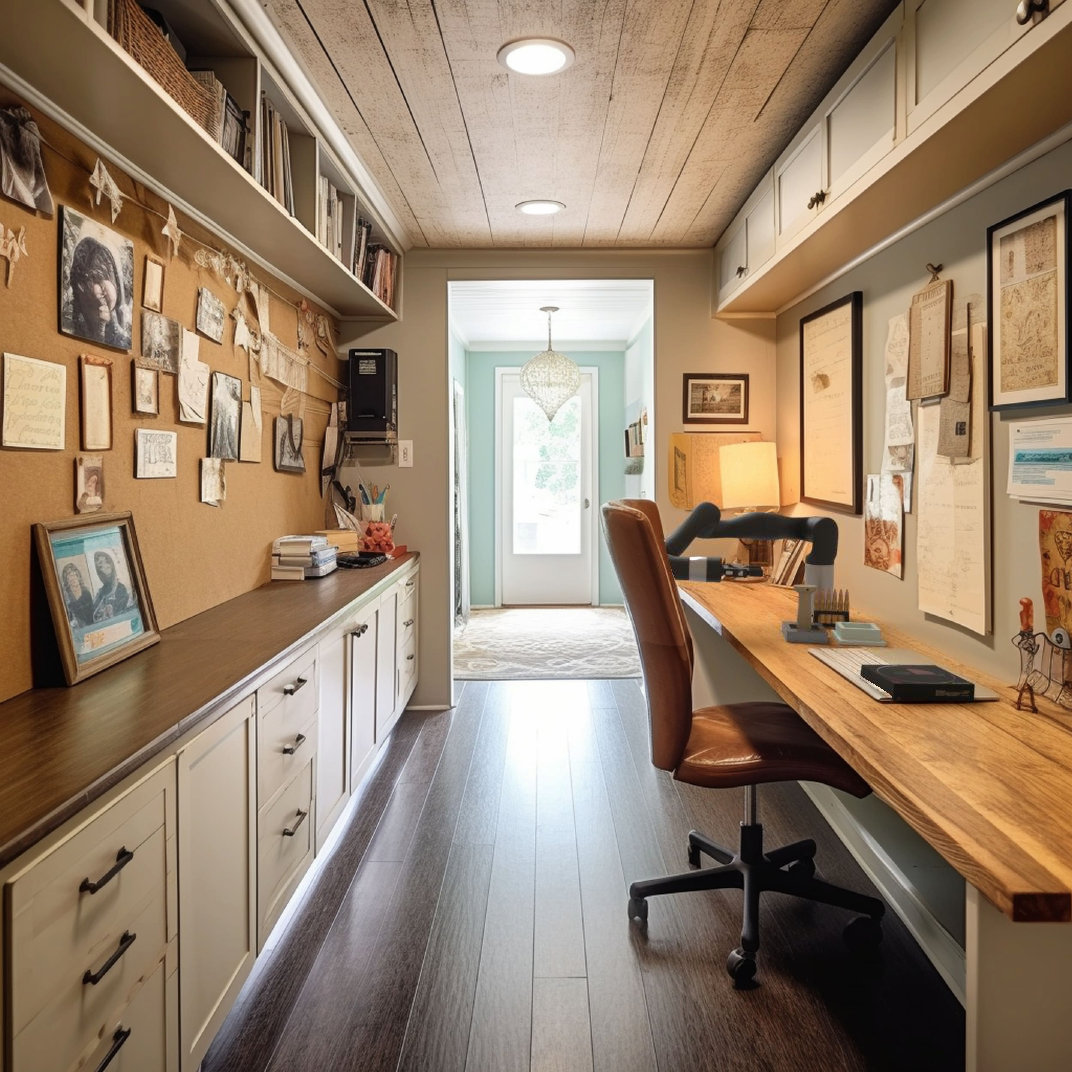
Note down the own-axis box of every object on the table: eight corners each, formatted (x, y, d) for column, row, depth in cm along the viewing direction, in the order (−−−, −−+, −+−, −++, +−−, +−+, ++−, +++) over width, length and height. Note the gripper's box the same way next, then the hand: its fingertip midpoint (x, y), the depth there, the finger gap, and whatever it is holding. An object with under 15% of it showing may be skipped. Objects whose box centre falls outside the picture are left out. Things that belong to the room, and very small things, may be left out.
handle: (790, 635, 223) (791, 584, 222) (812, 635, 222) (813, 584, 221) (795, 638, 218) (796, 586, 217) (817, 639, 218) (819, 587, 216)
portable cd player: (932, 681, 173) (933, 664, 173) (973, 703, 156) (974, 684, 156) (859, 681, 173) (860, 663, 173) (893, 702, 156) (893, 683, 156)
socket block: (781, 631, 229) (781, 621, 229) (820, 632, 227) (820, 622, 226) (786, 641, 214) (786, 631, 213) (827, 643, 211) (828, 633, 211)
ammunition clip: (848, 627, 236) (849, 588, 235) (849, 628, 234) (850, 589, 233) (812, 625, 238) (813, 587, 238) (812, 626, 237) (813, 588, 236)
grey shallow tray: (830, 633, 226) (831, 619, 226) (874, 635, 223) (874, 621, 223) (839, 644, 210) (839, 630, 210) (886, 646, 208) (886, 632, 207)
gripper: (705, 559, 218) (764, 560, 214) (705, 554, 232) (761, 556, 228) (704, 585, 218) (763, 587, 215) (705, 579, 232) (760, 581, 229)
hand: (762, 571), depth 221 cm, fingers open, 8 cm apart
